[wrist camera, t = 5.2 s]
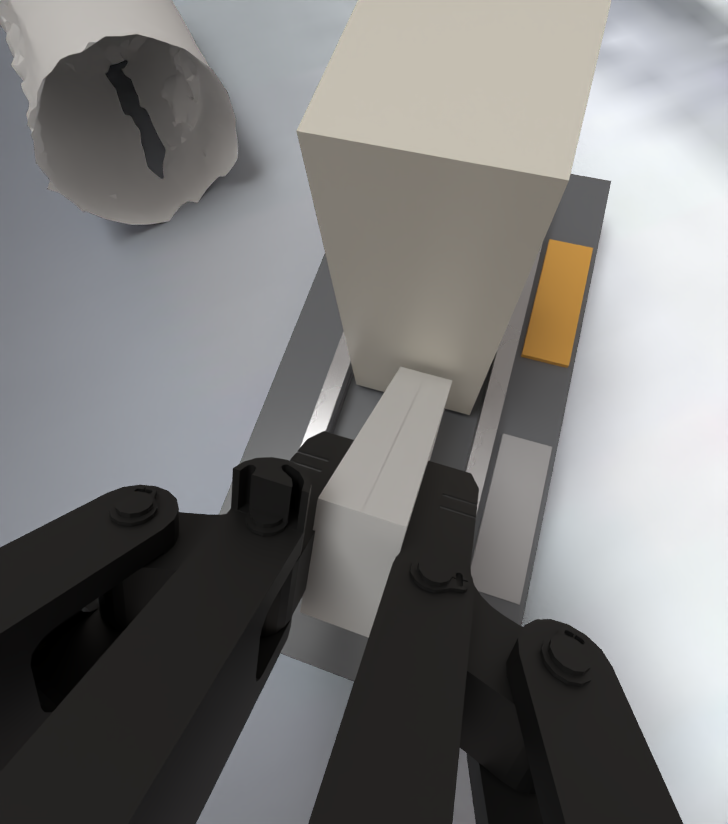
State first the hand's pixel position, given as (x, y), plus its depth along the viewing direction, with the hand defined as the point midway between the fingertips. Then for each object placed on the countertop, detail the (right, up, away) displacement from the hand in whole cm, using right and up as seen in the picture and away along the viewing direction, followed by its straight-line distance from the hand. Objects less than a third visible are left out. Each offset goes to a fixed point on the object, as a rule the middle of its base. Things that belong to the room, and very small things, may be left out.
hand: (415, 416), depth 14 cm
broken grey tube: (-15, +16, +12) cm, 25 cm away
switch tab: (+1, +3, +3) cm, 4 cm away
